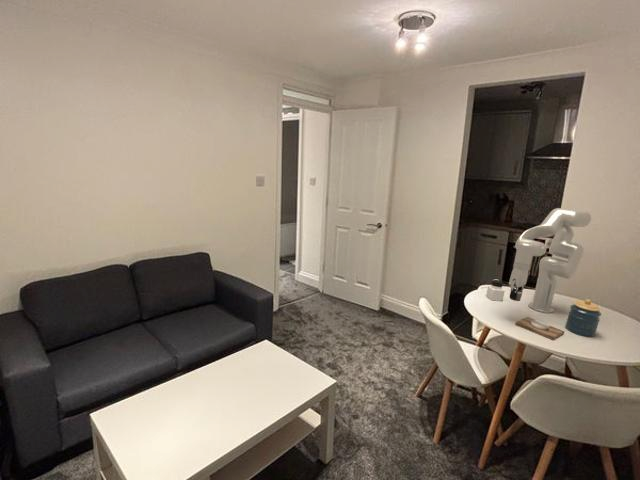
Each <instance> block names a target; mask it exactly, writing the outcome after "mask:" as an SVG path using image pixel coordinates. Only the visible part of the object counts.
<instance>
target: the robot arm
mask: <svg viewBox="0 0 640 480" xmlns="http://www.w3.org/2000/svg"><path fill="white" fill-rule="evenodd" d="M591 221H592V215H591V213H590V212H588V211H584V210H577V209H576V210H575V209H571V208H564V207H562V208H559V207H557V208H554V209H552V210H551V211H550V212H549V213H548V214H547V216H546V217H545V219H544V220H542V222H541V223H540V224H539V225H536V226H534V227H531V228H528V229H526V230H525V231H524V232H522V234H521V235H520V236H519V237H518V238H517V240H516V241H515V245H514V246H515V249H516V253H515V258H514V263H513V268H512V271H511V274H510V278H509V280H508V281H509V282H508V285H509V288H510V293H509V299H510V298H511V299H514V300H516V297H517V290H518V289H519V290H521V291H522V293H523V291H524V287H525V285H526V284H527V282H528V277H529V271H530V270H531V266H532V262H533V261H532V260H533V257H541V256H543V257H542V258H541V259H540V260H539V263H538V265H539V266H538V275H537V276H538V277H537V280H536V285H535V289H534V294H533V298H532V302H529V303H528V307H529V308H531V309H532V310H534V311H537V312H540V313H545V314H552V313H553V312H554V308H552V304H553V300H554V297H555V292H556V287H557V285H558V284H557V283H558V280H557V277H559V278H563V279H567V280H569V279H571V278H573V277H574V275H575V273H576V271H578V270H577V269H578V267H579V265H580V262H581V260H582V258H583V255H584V246H582V245H581V244H580V243H577V242H572V241H573V237H574V235H575V233H574V230H573V227H574V228H585V227H587V226H589V224H591ZM552 236H553V239H552V241H551V243H550V245H549V249H548V252H549V253H550V254H551V255H552V256H544V255H545V254H546V252H547V245H546V244H545V243H544V242H540V241H537V240H534V239H538V238H550V237H552ZM554 256H556V257H554ZM561 258H563V259H561ZM565 259H566V260H565ZM515 289H516V290H515ZM522 296H523V294H522V295H521V297H522ZM511 299H510V300H511ZM514 300H513V301H514Z"/></svg>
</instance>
